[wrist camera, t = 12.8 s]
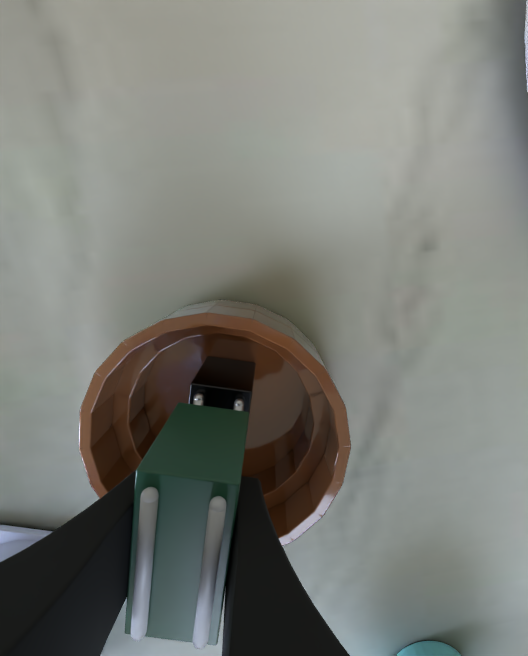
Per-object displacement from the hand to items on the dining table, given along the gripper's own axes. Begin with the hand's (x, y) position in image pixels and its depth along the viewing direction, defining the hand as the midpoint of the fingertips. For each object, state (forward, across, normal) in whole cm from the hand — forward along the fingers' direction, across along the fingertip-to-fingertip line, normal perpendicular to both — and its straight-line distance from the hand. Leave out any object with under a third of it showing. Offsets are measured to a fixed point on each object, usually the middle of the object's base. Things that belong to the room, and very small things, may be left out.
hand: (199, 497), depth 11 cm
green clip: (+1, 0, 0) cm, 1 cm away
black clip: (+7, 0, 0) cm, 7 cm away
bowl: (+7, 0, 0) cm, 7 cm away
